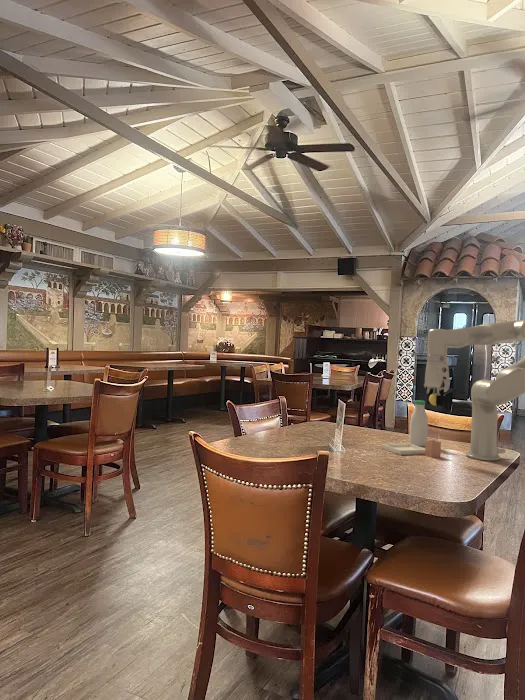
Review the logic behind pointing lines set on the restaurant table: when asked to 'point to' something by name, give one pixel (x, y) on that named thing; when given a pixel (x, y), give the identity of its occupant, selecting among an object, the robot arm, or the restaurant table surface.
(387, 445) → the tray
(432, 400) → the ball
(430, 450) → the brown rectangular block
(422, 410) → the milk bottle
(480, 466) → the restaurant table surface
